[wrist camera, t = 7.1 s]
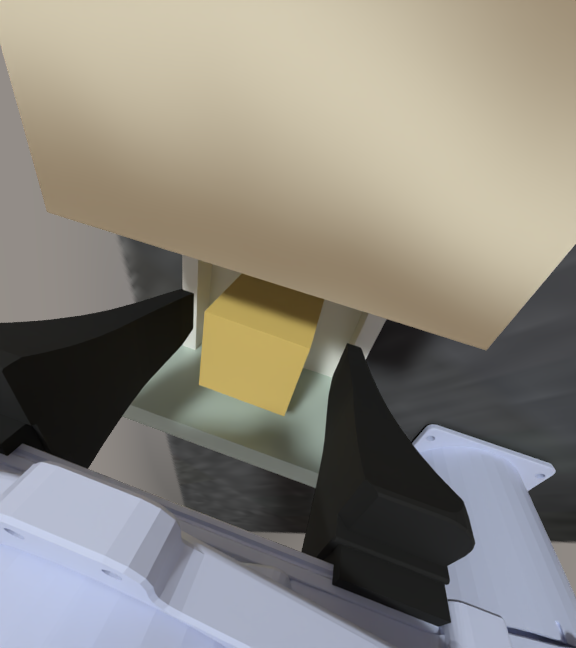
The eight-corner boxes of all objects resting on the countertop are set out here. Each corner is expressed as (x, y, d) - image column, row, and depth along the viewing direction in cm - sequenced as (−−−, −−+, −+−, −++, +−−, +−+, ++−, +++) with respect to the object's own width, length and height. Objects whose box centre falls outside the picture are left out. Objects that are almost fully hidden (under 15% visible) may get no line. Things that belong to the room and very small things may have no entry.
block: (305, 347, 16) (284, 416, 12) (241, 324, 16) (198, 384, 12) (327, 288, 14) (310, 348, 10) (252, 262, 14) (204, 311, 10)
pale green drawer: (357, 392, 18) (351, 501, 12) (185, 334, 19) (111, 412, 13) (497, 133, 10) (656, 121, 4) (186, 54, 11) (-2, -37, 5)
